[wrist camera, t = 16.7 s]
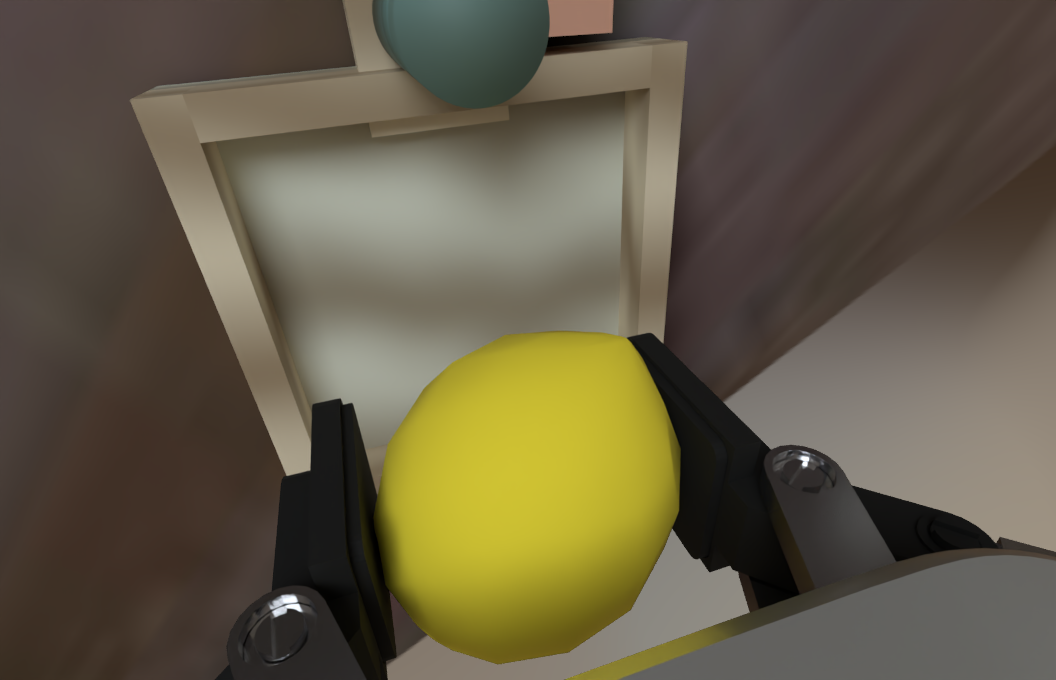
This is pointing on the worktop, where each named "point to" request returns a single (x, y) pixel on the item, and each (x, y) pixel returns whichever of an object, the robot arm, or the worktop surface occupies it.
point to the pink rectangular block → (580, 17)
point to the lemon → (528, 494)
